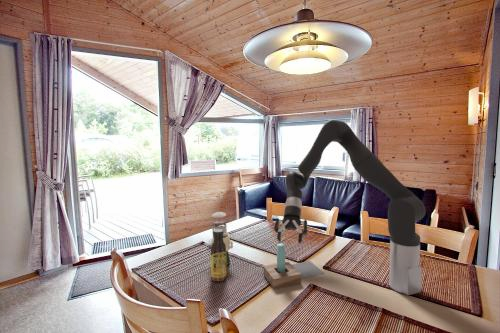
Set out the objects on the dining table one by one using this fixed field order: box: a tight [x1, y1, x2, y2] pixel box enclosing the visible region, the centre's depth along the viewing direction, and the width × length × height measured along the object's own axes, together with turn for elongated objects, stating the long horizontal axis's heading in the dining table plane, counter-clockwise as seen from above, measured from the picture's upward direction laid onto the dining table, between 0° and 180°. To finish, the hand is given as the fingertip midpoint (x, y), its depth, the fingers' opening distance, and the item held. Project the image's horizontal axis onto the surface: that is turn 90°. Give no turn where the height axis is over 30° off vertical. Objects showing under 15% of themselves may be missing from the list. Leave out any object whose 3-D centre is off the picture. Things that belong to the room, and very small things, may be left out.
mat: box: [291, 260, 326, 280], centre depth 114 cm, size 12×12×1 cm
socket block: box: [262, 261, 302, 290], centre depth 107 cm, size 11×11×4 cm
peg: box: [276, 243, 286, 274], centre depth 106 cm, size 3×3×14 cm
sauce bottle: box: [210, 229, 227, 282], centre depth 108 cm, size 7×6×20 cm
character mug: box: [211, 233, 234, 266], centre depth 121 cm, size 11×7×13 cm, turn 63°
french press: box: [208, 194, 228, 241], centre depth 151 cm, size 10×12×25 cm
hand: (289, 242), depth 116 cm, fingers open, 8 cm apart
